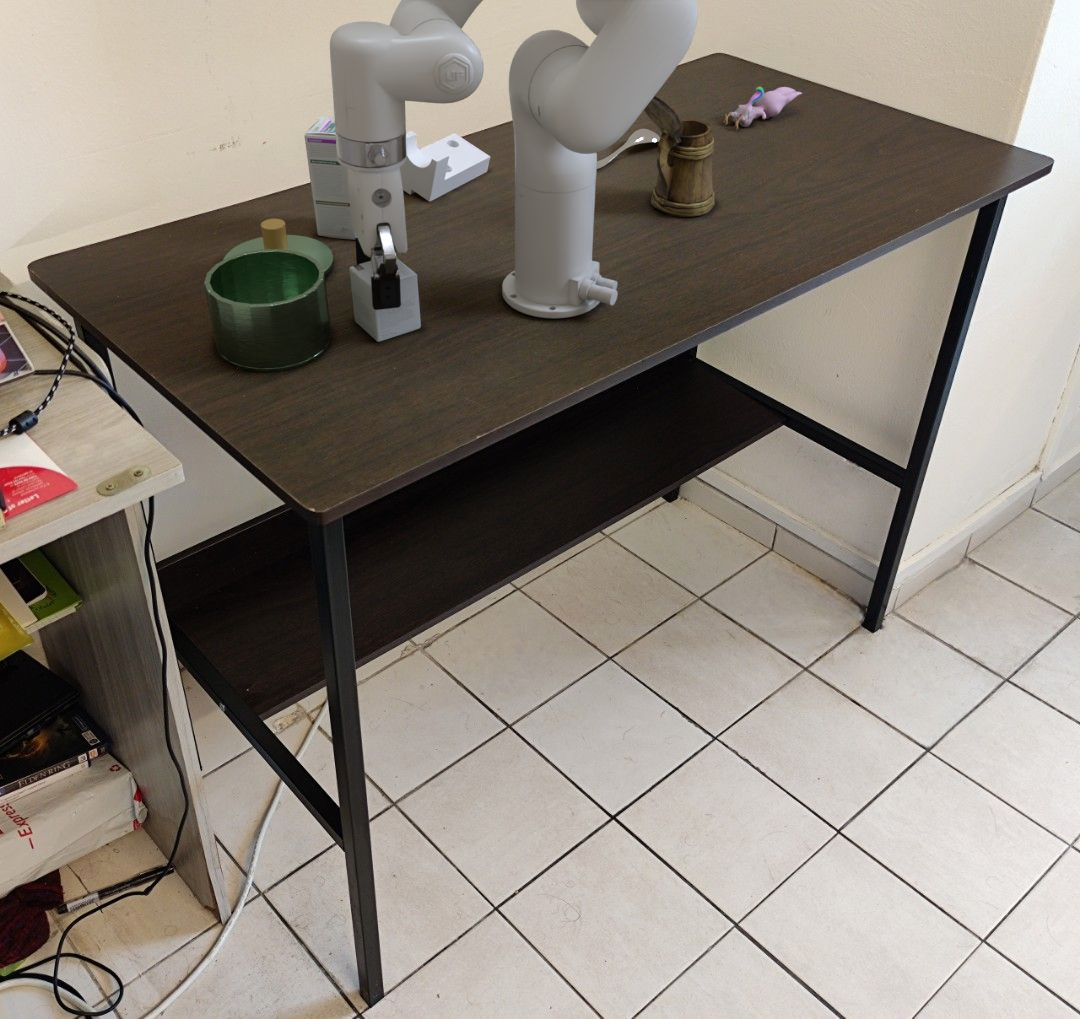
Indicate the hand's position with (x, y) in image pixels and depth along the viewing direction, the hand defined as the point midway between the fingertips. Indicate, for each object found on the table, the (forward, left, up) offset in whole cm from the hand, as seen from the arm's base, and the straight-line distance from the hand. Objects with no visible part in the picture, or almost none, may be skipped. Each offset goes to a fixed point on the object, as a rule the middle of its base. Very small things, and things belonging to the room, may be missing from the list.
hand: (378, 287), depth 139 cm
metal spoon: (-1, -58, -6) cm, 58 cm away
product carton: (0, -1, -6) cm, 5 cm away
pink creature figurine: (-13, -86, -6) cm, 87 cm away
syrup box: (+20, -18, -6) cm, 27 cm away
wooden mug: (-15, -48, -6) cm, 50 cm away
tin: (+9, +9, -5) cm, 14 cm away
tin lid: (+20, -4, -5) cm, 21 cm away
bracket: (+17, -38, -6) cm, 41 cm away
